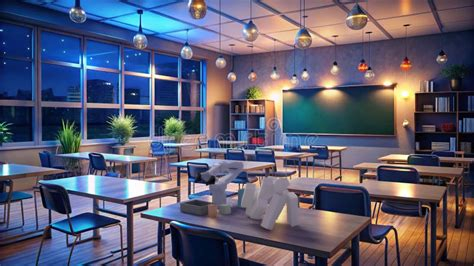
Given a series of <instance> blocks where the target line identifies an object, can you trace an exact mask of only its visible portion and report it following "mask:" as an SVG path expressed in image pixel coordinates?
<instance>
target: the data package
mask: <svg viewBox="0 0 474 266" xmlns="http://www.w3.org/2000/svg"><path fill="white" fill-rule="evenodd" d="M244 190H245V187H242V188H239V189H238V190H237V207H238V208H240V209H244V210H246V207H241V202H242V197H243V194H244Z"/></svg>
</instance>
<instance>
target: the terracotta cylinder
mask: <svg viewBox="0 0 474 266" xmlns="http://www.w3.org/2000/svg"><path fill="white" fill-rule="evenodd" d="M207 215H208V216H207V217H208V218H210V219H215V218H217V217H218V208H217V204H209V205H208V214H207Z"/></svg>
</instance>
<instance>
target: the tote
mask: <svg viewBox="0 0 474 266" xmlns="http://www.w3.org/2000/svg"><path fill="white" fill-rule="evenodd" d="M209 204H217V203H213V202H212V201H208V200H207V201H206V200H201V199H191V200H188V201H183V202H180V203H179V211H180V212H183V213H186V214H190V215H196V216H199V217H201V216H202V217H203V216H206V215H208V205H209Z"/></svg>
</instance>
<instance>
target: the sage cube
mask: <svg viewBox="0 0 474 266" xmlns="http://www.w3.org/2000/svg"><path fill="white" fill-rule="evenodd" d="M218 213H219V214H222V215H229V214H232V205H231V204H229V203H226V204H221V205H219V208H218Z"/></svg>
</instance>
